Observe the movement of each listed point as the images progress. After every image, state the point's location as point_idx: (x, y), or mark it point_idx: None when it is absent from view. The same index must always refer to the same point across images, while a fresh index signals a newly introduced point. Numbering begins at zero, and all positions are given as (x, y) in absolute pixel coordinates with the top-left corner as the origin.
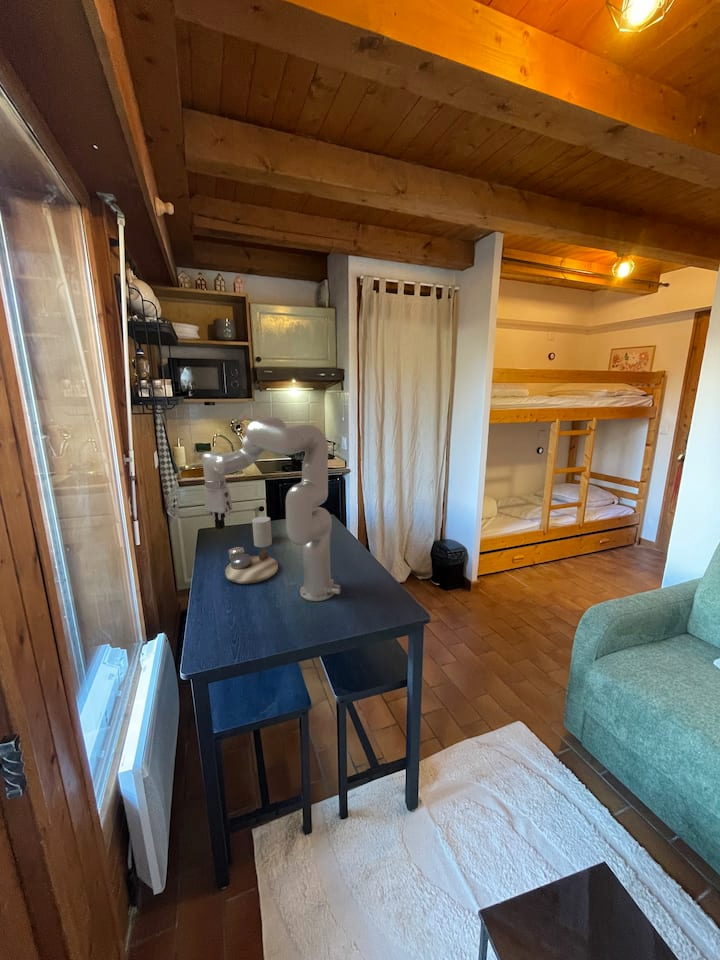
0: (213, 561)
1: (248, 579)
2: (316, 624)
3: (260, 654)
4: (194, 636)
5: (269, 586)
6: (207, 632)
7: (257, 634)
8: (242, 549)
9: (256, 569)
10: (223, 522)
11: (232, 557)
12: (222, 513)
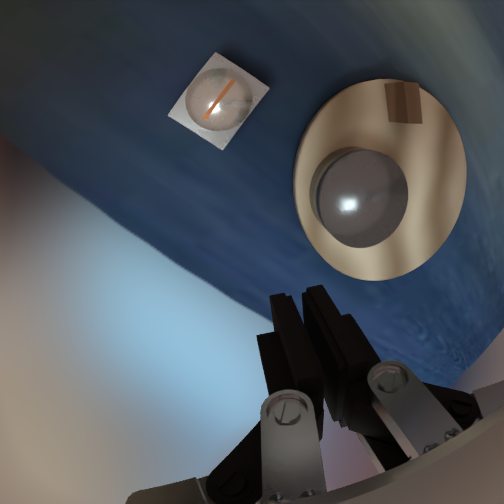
0: (158, 196)
1: (430, 255)
2: None
3: (487, 347)
4: None
5: (461, 219)
6: None
7: (479, 332)
8: (237, 72)
9: (421, 192)
10: (363, 346)
11: (327, 217)
12: (402, 434)
